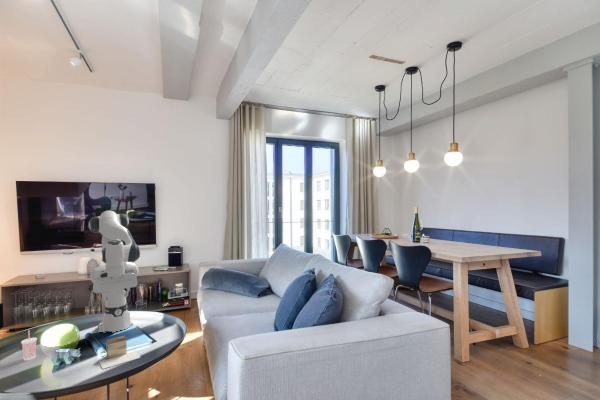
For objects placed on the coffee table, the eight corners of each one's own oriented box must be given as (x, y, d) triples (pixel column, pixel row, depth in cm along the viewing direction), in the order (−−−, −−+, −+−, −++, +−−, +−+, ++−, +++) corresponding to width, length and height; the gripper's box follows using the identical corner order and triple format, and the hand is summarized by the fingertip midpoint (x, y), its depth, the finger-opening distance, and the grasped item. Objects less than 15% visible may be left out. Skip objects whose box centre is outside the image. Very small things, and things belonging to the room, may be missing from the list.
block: (106, 356, 163) (106, 340, 163) (124, 351, 168) (124, 335, 168) (108, 359, 159) (108, 342, 159) (126, 354, 164) (126, 338, 164)
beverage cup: (18, 361, 159) (17, 332, 159) (26, 356, 165) (25, 328, 165) (32, 360, 160) (32, 331, 160) (40, 354, 166) (39, 327, 166)
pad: (99, 362, 156) (99, 361, 156) (135, 351, 167) (135, 351, 167) (102, 369, 149) (102, 368, 149) (140, 357, 160) (140, 357, 160)
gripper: (135, 268, 180) (136, 293, 180) (91, 274, 167) (92, 301, 167) (138, 269, 176) (139, 295, 175) (94, 275, 162) (94, 303, 162)
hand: (116, 298), depth 171 cm, fingers open, 8 cm apart
